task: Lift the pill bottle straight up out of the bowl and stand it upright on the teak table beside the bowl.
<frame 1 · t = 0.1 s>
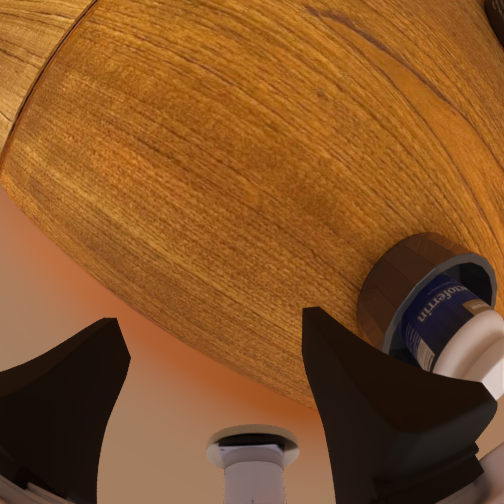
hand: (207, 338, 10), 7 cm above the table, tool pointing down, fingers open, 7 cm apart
bowl: (415, 297, 18), on the table
pill bottle: (417, 299, 18), resting on bowl
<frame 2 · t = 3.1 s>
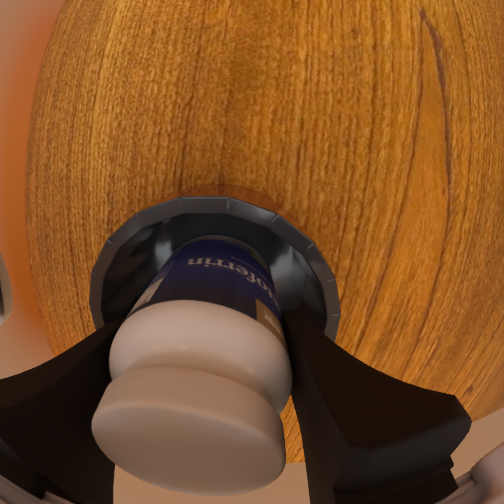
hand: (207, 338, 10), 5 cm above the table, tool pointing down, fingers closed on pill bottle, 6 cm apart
bowl: (218, 282, 15), on the table
pill bottle: (217, 284, 14), resting on bowl, touching gripper
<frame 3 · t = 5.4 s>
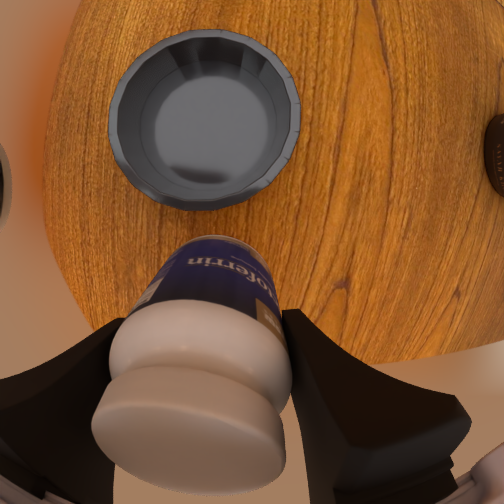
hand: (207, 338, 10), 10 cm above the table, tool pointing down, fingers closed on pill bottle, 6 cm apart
bowl: (207, 123, 17), on the table
jar: (501, 155, 19), on the table
pill bottle: (217, 283, 14), point 6 cm above the table, touching gripper
when the fingers open (4 cm above the table, at t = 7.7 s): pill bottle stays where it is, on the table.
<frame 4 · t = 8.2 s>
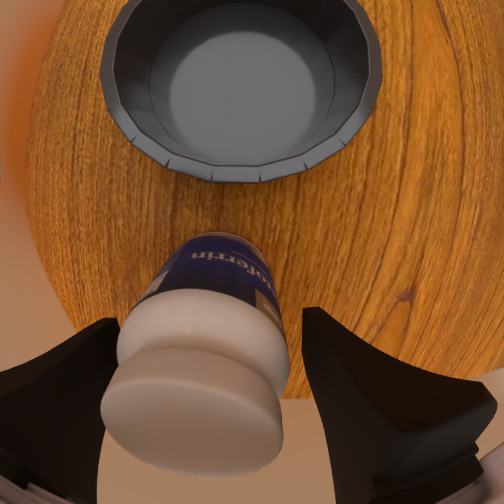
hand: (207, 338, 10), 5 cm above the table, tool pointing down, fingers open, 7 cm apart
bowl: (241, 75, 11), on the table
pill bottle: (218, 279, 15), on the table
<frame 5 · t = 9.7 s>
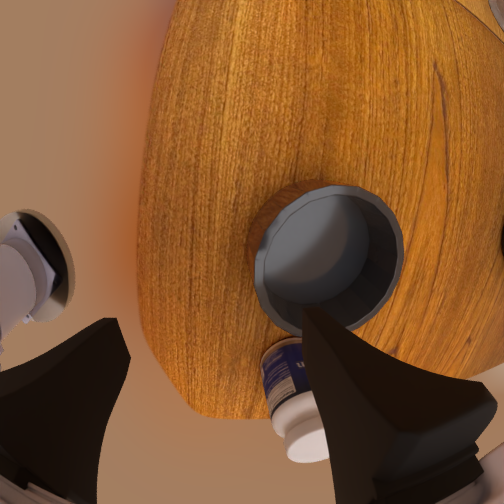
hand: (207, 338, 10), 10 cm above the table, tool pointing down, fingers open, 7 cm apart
bowl: (314, 247, 21), on the table
pill bottle: (289, 358, 24), on the table
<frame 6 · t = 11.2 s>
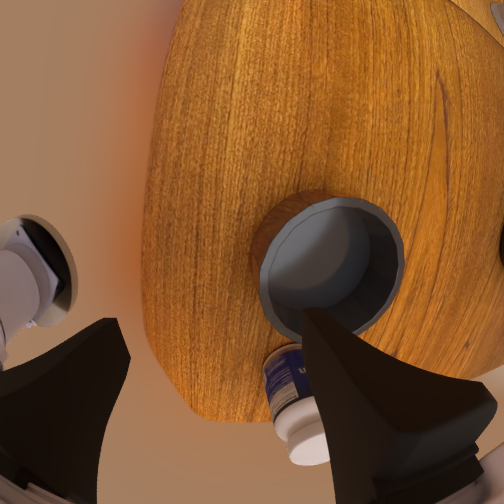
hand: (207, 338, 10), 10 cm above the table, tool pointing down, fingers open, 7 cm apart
bowl: (316, 256, 21), on the table
pill bottle: (291, 363, 24), on the table
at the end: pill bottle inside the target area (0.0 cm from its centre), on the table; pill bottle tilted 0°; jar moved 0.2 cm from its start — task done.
